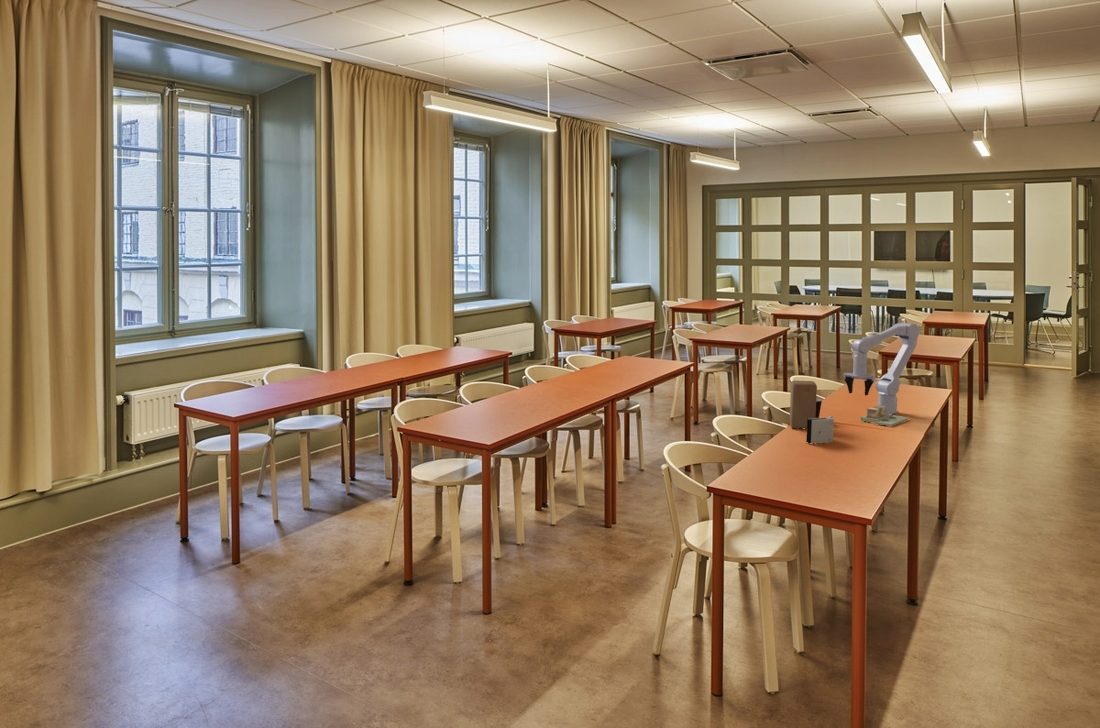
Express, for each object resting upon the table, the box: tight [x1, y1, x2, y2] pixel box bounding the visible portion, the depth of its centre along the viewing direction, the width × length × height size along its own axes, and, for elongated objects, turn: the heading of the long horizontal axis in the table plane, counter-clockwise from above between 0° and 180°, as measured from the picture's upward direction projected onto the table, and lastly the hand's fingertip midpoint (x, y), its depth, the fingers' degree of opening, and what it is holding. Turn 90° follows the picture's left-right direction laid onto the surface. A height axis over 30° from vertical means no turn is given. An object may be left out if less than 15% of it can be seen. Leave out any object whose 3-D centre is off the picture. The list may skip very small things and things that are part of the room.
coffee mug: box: [816, 397, 823, 418], centre depth 373 cm, size 12×9×10 cm
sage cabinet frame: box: [860, 413, 910, 427], centre depth 371 cm, size 20×14×2 cm
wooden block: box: [789, 380, 818, 430], centre depth 359 cm, size 10×10×20 cm
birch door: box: [866, 404, 886, 419], centre depth 373 cm, size 12×4×6 cm, turn 135°
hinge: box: [805, 415, 835, 444], centre depth 331 cm, size 14×5×10 cm, turn 116°
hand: (858, 394), depth 384 cm, fingers open, 7 cm apart
